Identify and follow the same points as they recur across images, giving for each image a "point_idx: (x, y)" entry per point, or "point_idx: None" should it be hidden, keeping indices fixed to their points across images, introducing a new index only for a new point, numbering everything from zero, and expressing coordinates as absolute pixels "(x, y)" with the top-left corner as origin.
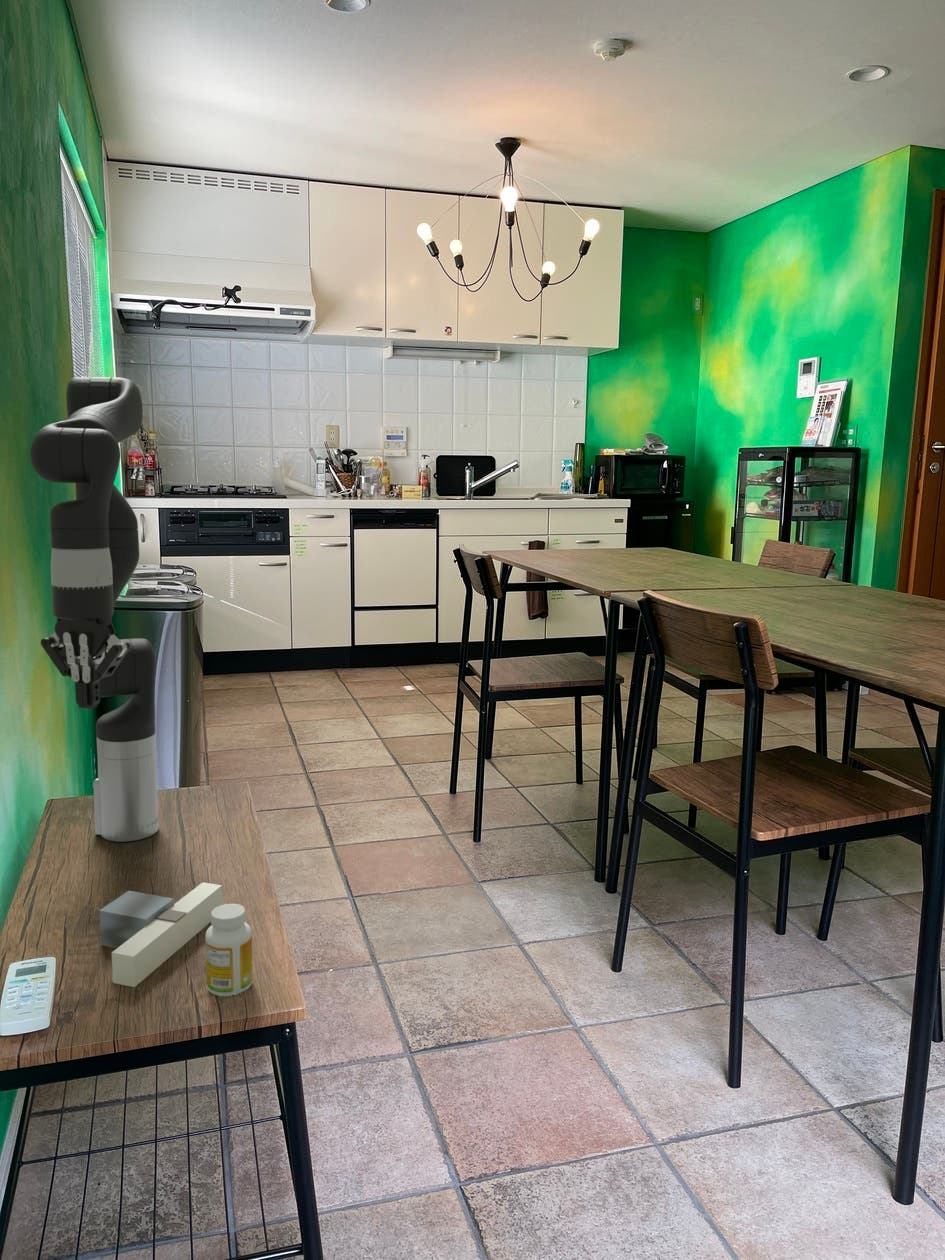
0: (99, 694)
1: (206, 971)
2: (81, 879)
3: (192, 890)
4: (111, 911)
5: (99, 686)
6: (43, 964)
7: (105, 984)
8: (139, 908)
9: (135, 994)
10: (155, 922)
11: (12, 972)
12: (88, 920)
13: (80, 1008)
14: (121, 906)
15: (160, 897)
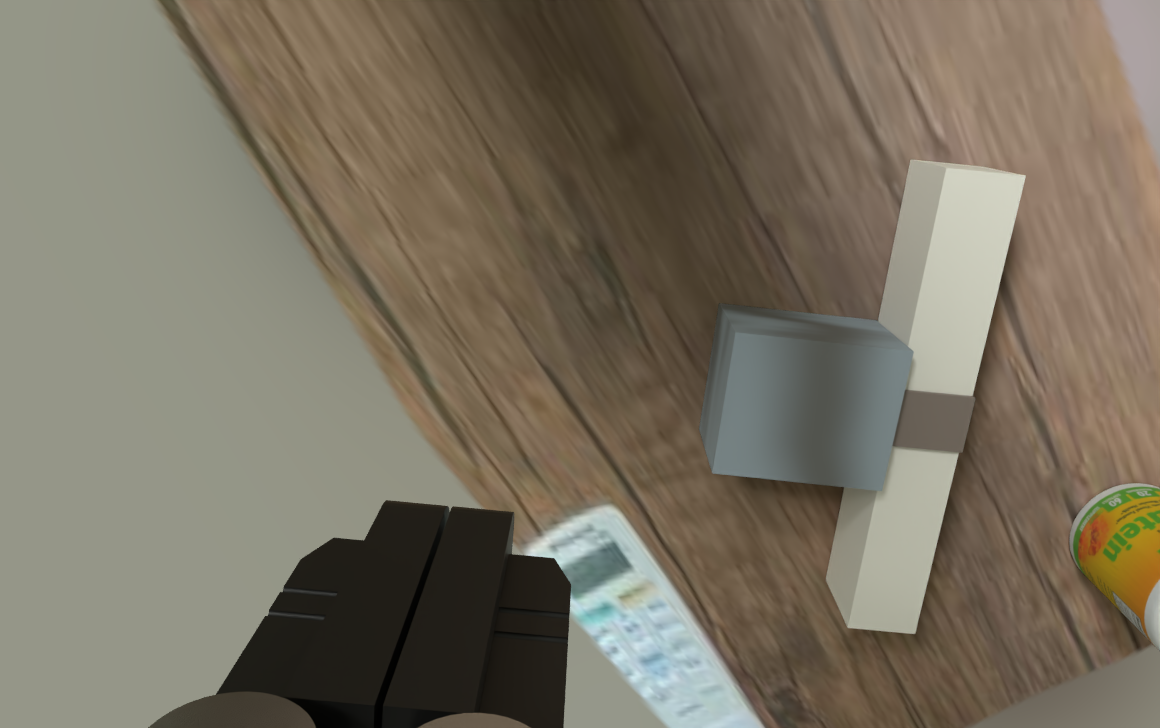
0: (566, 638)
1: (1094, 580)
2: (382, 48)
3: (932, 238)
4: (753, 472)
5: (561, 705)
6: (605, 541)
7: (809, 586)
8: (829, 434)
9: None
10: (896, 463)
11: None
12: (583, 312)
13: (801, 675)
14: (767, 437)
15: (865, 354)
